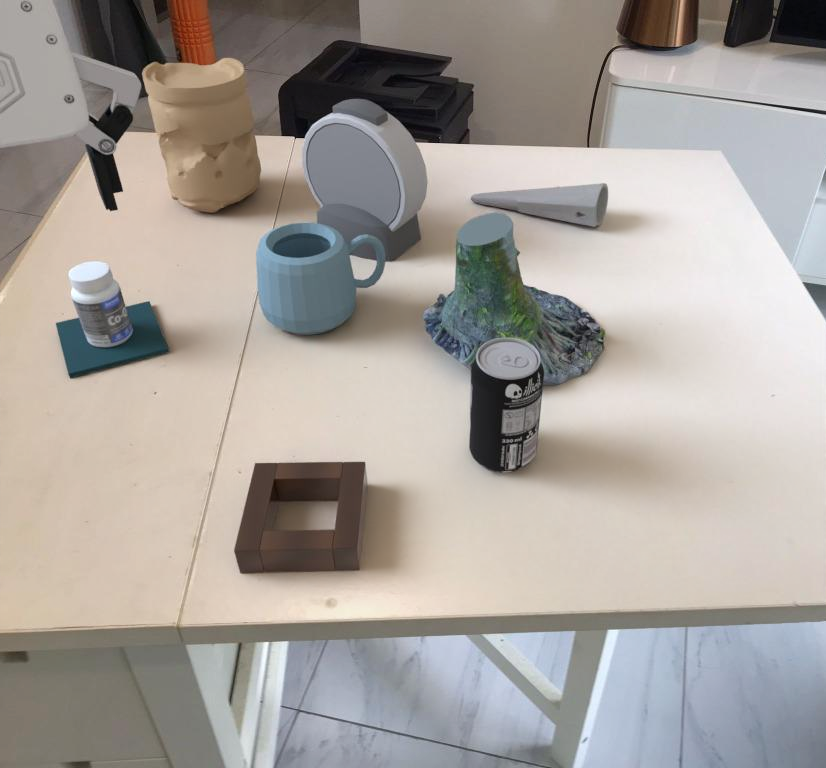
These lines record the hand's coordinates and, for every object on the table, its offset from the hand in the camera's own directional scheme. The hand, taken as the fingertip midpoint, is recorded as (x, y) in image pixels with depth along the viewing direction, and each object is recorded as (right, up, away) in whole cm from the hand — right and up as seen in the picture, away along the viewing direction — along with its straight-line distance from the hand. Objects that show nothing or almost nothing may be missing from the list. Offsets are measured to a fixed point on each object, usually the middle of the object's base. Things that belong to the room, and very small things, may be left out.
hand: (33, 216), depth 54 cm
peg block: (+14, -24, +16) cm, 32 cm away
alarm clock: (+13, +8, +54) cm, 57 cm away
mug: (+11, -3, +41) cm, 42 cm away
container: (-9, +15, +61) cm, 63 cm away
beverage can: (+32, -18, +24) cm, 44 cm away
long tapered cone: (+36, +14, +63) cm, 74 cm away
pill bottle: (-12, -6, +34) cm, 37 cm away
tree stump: (+33, -7, +38) cm, 51 cm away
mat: (-12, -6, +35) cm, 37 cm away
